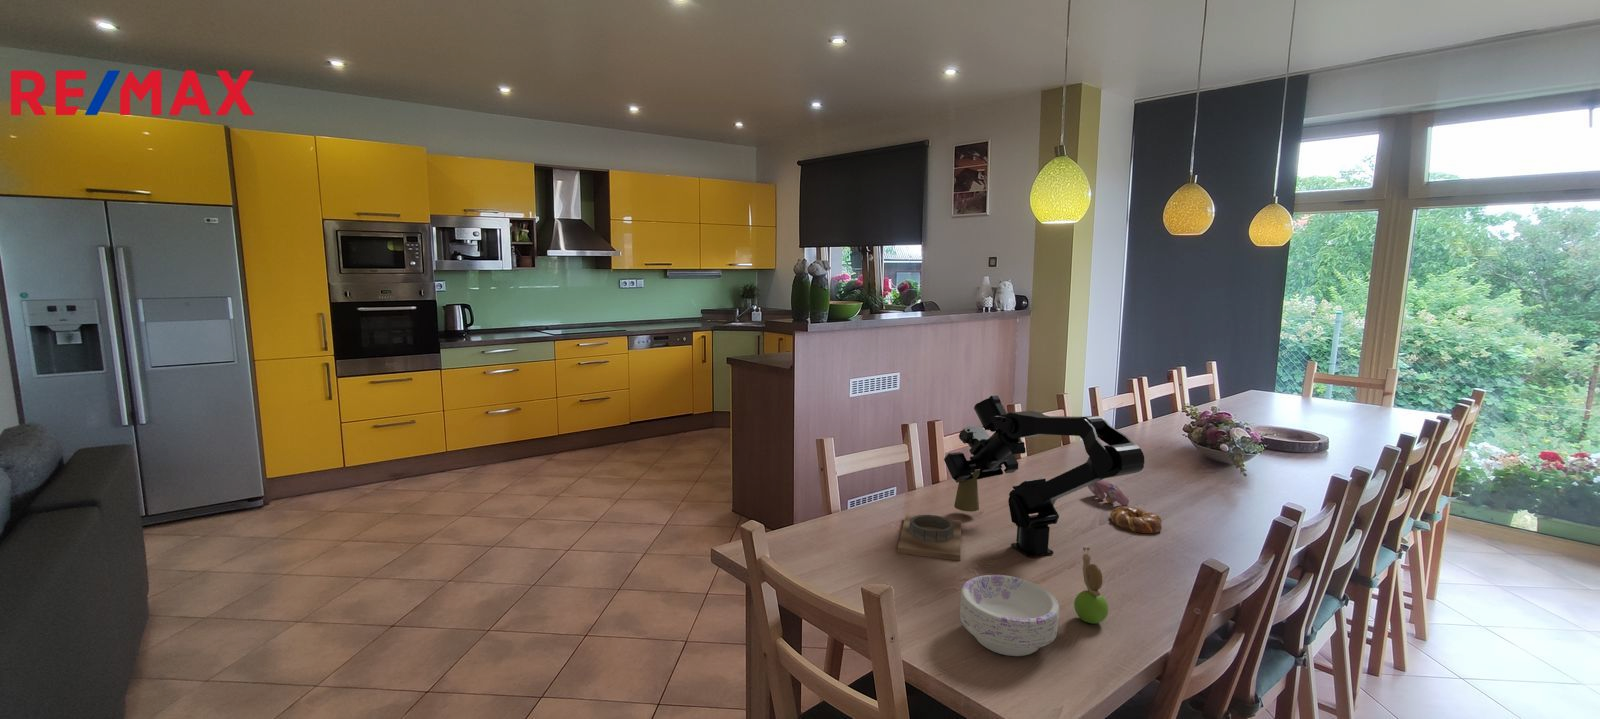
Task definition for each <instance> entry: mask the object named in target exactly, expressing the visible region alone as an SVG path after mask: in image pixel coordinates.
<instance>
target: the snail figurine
mask: <svg viewBox="0 0 1600 719" xmlns="http://www.w3.org/2000/svg"><path fill="white" fill-rule="evenodd" d="M1090 550H1091V549H1090V547H1083V548H1082V551H1083V552H1085V551H1087V552H1086V553H1083V555H1082V561H1083V563H1082V574H1083V581H1084V584H1085V587H1086V590H1082V591H1081V592H1079V593H1078V594H1077V595H1076V596H1075V599H1074V602H1073V606H1074V611H1075V613H1076V615H1077V617H1079V618H1080V620H1082V621H1083V622H1084V623H1085V622H1086V623H1088V624H1095V625H1096V624H1099V623H1101V622H1103V621H1105V619H1106V618H1107V617H1108V614H1109V605H1108V601H1107V600H1106V598H1105V597H1104V596H1103V595H1102V593H1101V592H1100V589H1101V588H1102V585H1103V573H1102V570H1101V568H1100V567H1099V566H1098V565H1097V564H1095V563H1091V560H1092V559H1091V556H1090V555H1089V551H1090Z"/></svg>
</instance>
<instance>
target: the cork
mask: <svg viewBox="0 0 1600 719" xmlns="http://www.w3.org/2000/svg"><path fill="white" fill-rule="evenodd" d="M979 474H980V470H975V472H974V473H972V476H973V479H970V480H966V481H962V482H958V485H957V489H956V490H957V491H956V496H955V500H954V504H953V505H954V508H955V509H957V510H959V511H961V512H977V511H979V510H980V505H979V504H980V503H979V502H980V500H979V499H980V498H979V489H978V488H979V487H978V480H977V478H978V476H979Z"/></svg>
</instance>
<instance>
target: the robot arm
mask: <svg viewBox="0 0 1600 719" xmlns="http://www.w3.org/2000/svg"><path fill="white" fill-rule="evenodd" d="M973 410H974V411H975V413H976V416H977V417H978V420H979V422H980V423H981V425H982V426H980V425H974V426H973V425H972V426H967V427H964V428H963V429H962V430H960V431H959V435H958V438H959V440H960V441H961V442H962V443H963V444H964V445H965V444H967V445H968V446H969V447H970V449H969V453H970V454H971V455H973V456H970V457H969V460H967V458H966V456H965V453H963V452H962V451H958V452H957V451H956V452H949V453H947V455H946V456H944V459H943V461H944V464H945V465H946V468H947V469H948V473H950V476H951V478H952V480H954V481H955V483H958V484H959V482H962V481H966V480H970V479H973V476H972V473H974V472H975V470H980V474H979V476H978V478H977V481H978V480H982V479H987V478H988V479H989V478H992V477H997V476H1002V475H1003V474H1004V473H1005V474H1013V473H1015V472H1016V471H1017V470H1018V469H1019V462H1018V460H1017V458H1016V457H1015V455H1022V454H1026V452H1027V450H1026V446H1025V441H1023V440H1022V439H1023V438H1031V437H1038V436H1043V435H1046V436H1047V435H1051V436H1052V435H1053V436H1069V437H1070V436H1075V437H1076V436H1077V437H1080V439H1081V440H1082V442H1083V445H1084V449H1085V452H1086V454H1087V455H1088V458H1087V460H1086V461H1085V462H1084V463H1082V464H1080V465H1078V466H1076V467H1074V468H1072V469H1070V470H1068V471H1065V472H1063V473H1061V474H1059V475H1057V476H1055V477H1052V478H1049V480H1046V478H1045V477H1042V478H1036V479H1030V480H1029V479H1028V480H1025V481H1022V482H1021V483H1020V484H1018V485H1012V488H1013V489H1011V491H1010V492H1009V493H1008V496H1009V497H1008V507H1009V508H1008V509H1009V515H1010V518H1011V523H1013V524H1015V526H1016V527H1017V528H1016V540H1015V541H1016V542H1011V543H1010V546H1011V547H1012V548H1013V549H1015V550H1017V551H1018V552H1020V553H1021V554H1024V555H1025V556H1027V557H1029V558H1036V557H1040V556H1041V557H1043V556H1050V555H1054V551H1053V550H1052V549H1050V548H1049V541H1050V540H1049V538H1050V531H1051V530H1050V529H1051V528H1050V525H1057V523H1058V521H1059V518H1060V515H1059V513H1058V511H1057V510H1056V508H1055V506H1054V505H1055V503H1056V501H1057V500H1058V499H1061V498H1063V497H1065V496H1068V495H1070V494H1072V493H1075V492H1077V491H1078V490H1081V489H1084V488H1086V487H1088V486H1089V485H1091V484H1093V483H1096V482H1098V481H1100V480H1105V479H1109V478H1110V479H1111V478H1115V477H1116V478H1117V477H1120V476H1126V475H1127V476H1128V475H1132V474H1137V473H1140V472H1142V471H1143V469H1144V468H1145V466H1144V465H1145V455H1144V452H1143V451H1142V449H1141V448H1140V447H1139V446H1138V445H1137V444H1135V443H1134V442H1133V441H1132V439H1130V438H1129V436H1128V435H1126V434H1125V433H1123V432H1122V431H1121V430H1120V431H1119V430H1118V429H1117V428H1115V427H1113V426H1112V425H1110V423H1109V422H1108V421H1106V419H1105V418H1104V417H1102V416H1100V415H1089V416H1087V415H1086V416H1066V415H1065V416H1061V415H1060V416H1058V415H1057V416H1056V415H1055V416H1053V415H1052V416H1049V415H1046V414H1044V413H1042V412H1037V411H1034V410H1024V411H1023V410H1022V411H1014V412H1013V411H1012V412H1008V413H1007V411H1006V409H1005V407H1004V405H1003V403H1002V401H1001V398H1000V397H999V395H996V394H995V395H990V396H989V397H988V398H985V399H983V400H981V401H979V402H977V403H976V404H975V405H974V407H973ZM987 431H990V432H991V433H993V432H994V433H993V434H991V435H990V434H989V433H988V432H987ZM1100 440H1101V441H1102V442H1103V443H1105V444H1107V445H1104V444H1102V442H1101V441H1100ZM1003 465H1004V467H1005V468H1004V469H1003Z"/></svg>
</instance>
